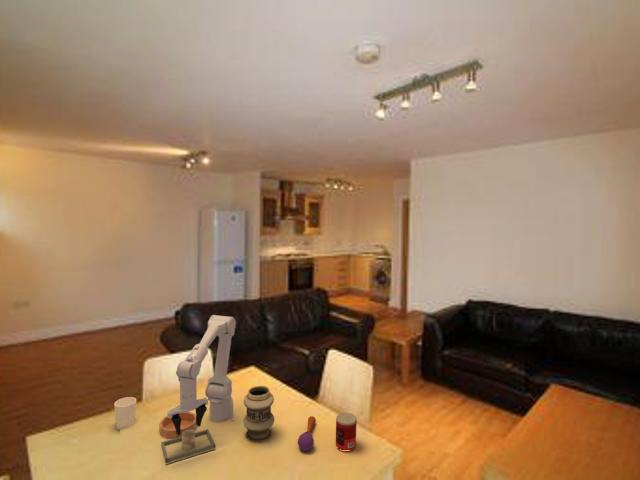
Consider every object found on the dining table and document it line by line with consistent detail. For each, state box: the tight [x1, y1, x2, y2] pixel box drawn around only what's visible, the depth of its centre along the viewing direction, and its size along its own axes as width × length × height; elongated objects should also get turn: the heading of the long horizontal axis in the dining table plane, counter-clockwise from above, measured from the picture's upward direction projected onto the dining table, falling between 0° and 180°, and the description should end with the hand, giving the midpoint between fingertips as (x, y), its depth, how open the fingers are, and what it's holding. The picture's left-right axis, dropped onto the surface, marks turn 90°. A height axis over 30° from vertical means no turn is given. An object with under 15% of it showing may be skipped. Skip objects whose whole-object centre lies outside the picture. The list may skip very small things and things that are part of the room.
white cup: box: [113, 396, 137, 431], centre depth 146 cm, size 8×8×10 cm
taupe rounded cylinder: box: [181, 429, 196, 451], centre depth 132 cm, size 4×4×6 cm
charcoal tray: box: [160, 429, 217, 467], centre depth 132 cm, size 17×11×2 cm, turn 121°
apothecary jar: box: [243, 385, 275, 443], centre depth 142 cm, size 12×12×18 cm
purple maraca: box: [297, 415, 317, 452], centre depth 141 cm, size 6×6×20 cm
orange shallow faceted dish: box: [158, 411, 198, 439], centre depth 144 cm, size 14×14×4 cm
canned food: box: [335, 412, 357, 451], centre depth 136 cm, size 8×8×11 cm
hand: (188, 429), depth 132 cm, fingers open, 7 cm apart
